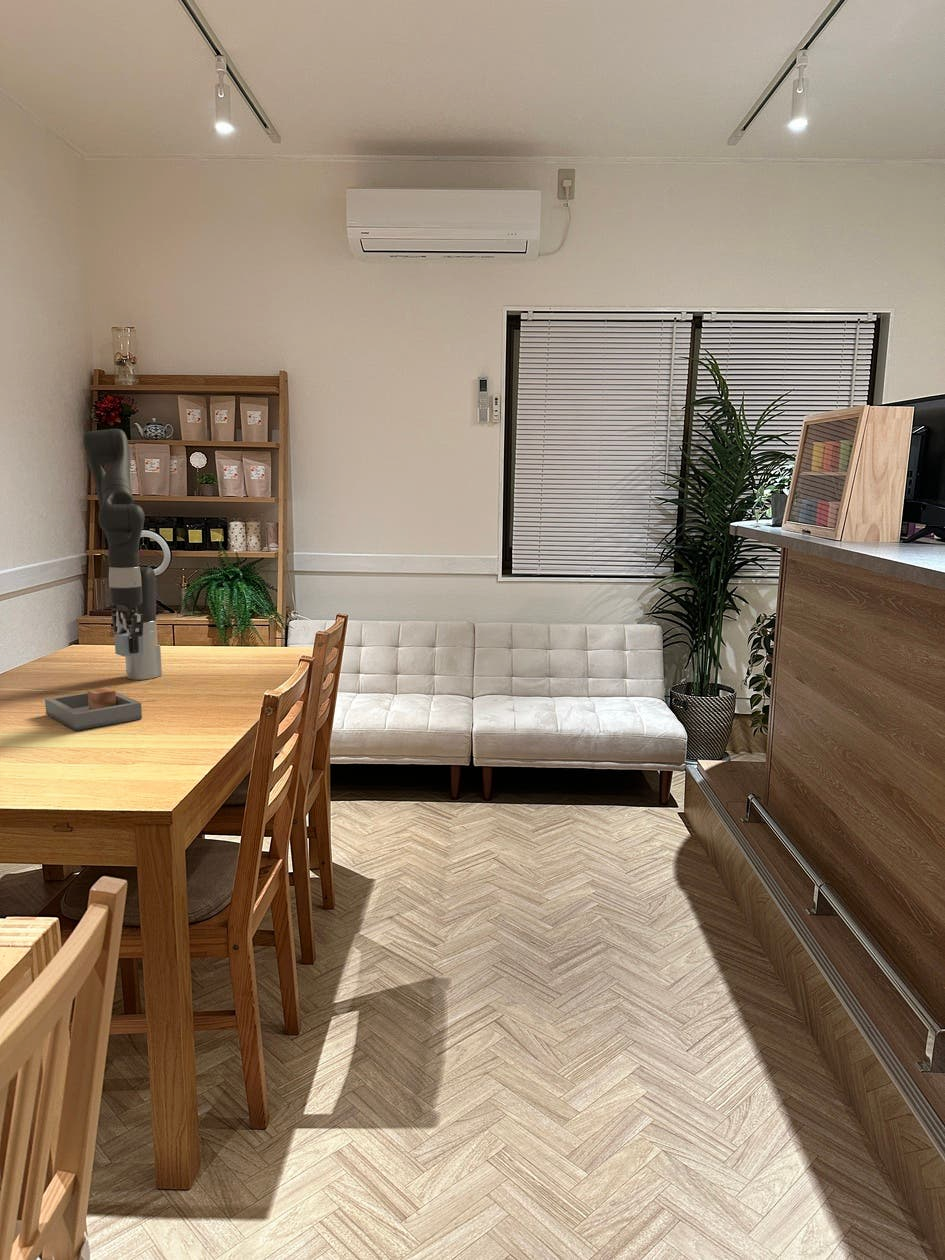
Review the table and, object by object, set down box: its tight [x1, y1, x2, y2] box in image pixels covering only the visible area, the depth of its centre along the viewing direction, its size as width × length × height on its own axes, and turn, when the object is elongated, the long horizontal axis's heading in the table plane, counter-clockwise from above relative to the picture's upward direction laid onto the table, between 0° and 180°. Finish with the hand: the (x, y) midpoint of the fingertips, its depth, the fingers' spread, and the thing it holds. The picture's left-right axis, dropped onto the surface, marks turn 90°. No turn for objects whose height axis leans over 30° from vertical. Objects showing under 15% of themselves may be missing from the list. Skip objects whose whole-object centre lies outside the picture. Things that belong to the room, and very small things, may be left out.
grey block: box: [114, 633, 143, 657], centre depth 217 cm, size 5×5×5 cm
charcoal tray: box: [44, 691, 143, 732], centre depth 214 cm, size 16×20×4 cm
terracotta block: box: [86, 686, 116, 710], centre depth 218 cm, size 5×5×5 cm
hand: (129, 651), depth 217 cm, fingers closed on grey block, 5 cm apart
